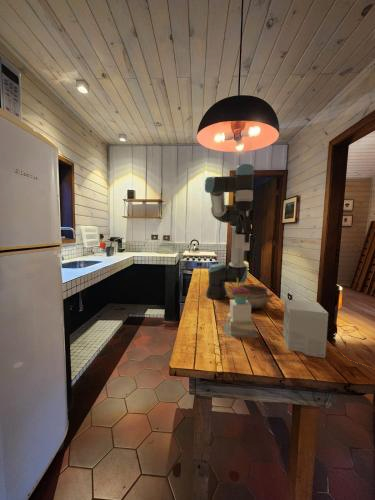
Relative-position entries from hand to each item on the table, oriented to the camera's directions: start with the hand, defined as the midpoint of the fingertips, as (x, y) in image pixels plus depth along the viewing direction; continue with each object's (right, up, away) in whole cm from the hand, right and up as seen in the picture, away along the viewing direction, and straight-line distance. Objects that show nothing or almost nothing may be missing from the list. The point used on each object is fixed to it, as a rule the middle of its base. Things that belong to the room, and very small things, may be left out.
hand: (242, 249), depth 98 cm
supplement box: (+22, -40, -9) cm, 47 cm away
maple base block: (0, -37, +3) cm, 38 cm away
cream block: (0, -31, +3) cm, 32 cm away
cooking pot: (+15, -36, +36) cm, 53 cm away
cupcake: (0, -25, +2) cm, 25 cm away
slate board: (0, -39, +3) cm, 39 cm away
